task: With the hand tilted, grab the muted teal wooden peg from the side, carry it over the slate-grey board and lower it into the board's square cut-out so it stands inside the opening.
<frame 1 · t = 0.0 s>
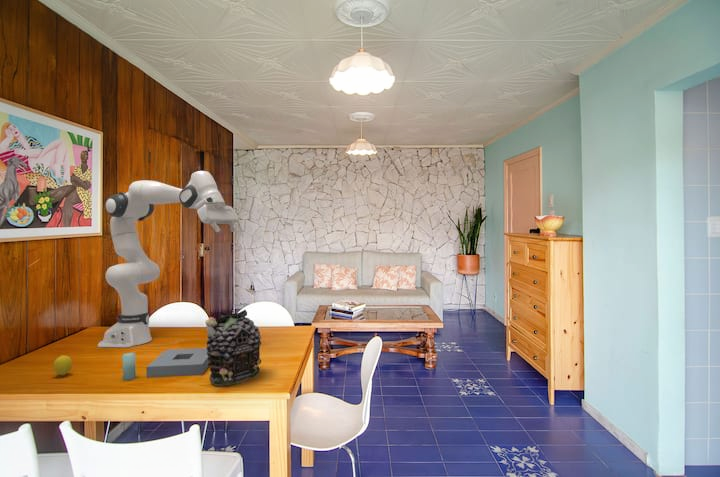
hand: (226, 231, 165), 54 cm above the table, tool tilted 30°, fingers open, 8 cm apart
peg: (129, 378, 142), on the table
decorative house: (235, 378, 142), on the table
lemon: (63, 376, 144), on the table
cutout board: (183, 366, 154), on the table
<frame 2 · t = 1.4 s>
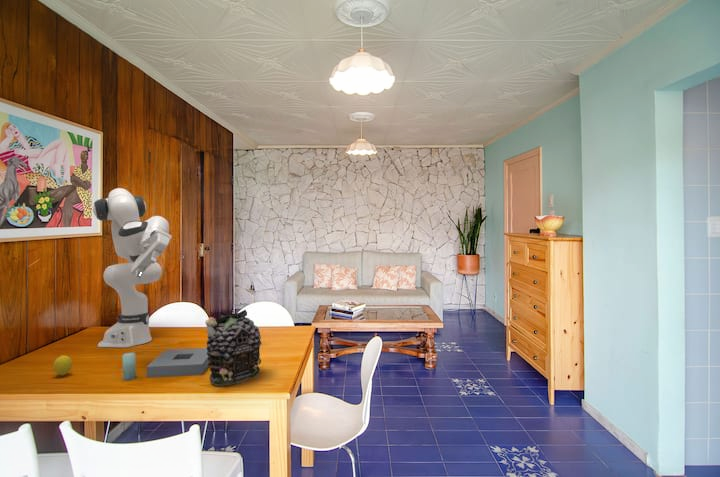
hand: (145, 269, 143), 40 cm above the table, tool tilted 50°, fingers open, 8 cm apart
nothing on the table moved.
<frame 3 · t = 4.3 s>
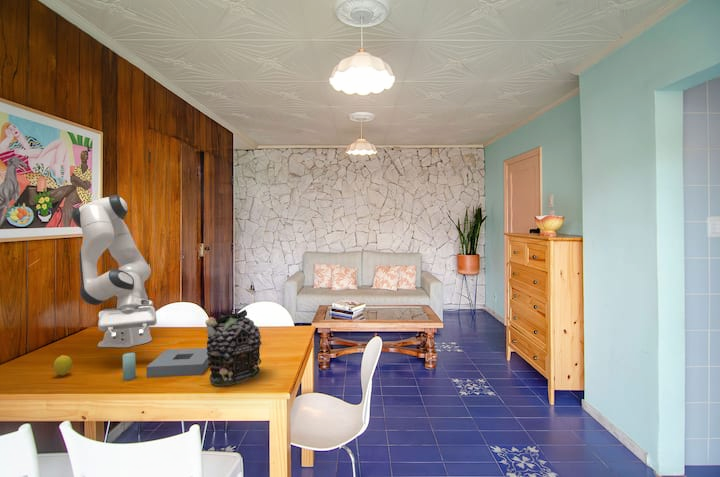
hand: (127, 336, 150), 13 cm above the table, tool tilted 45°, fingers open, 8 cm apart
nothing on the table moved.
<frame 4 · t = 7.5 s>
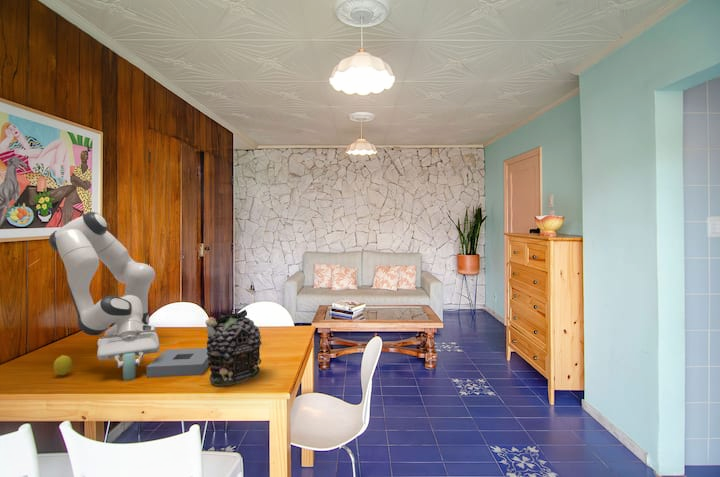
hand: (129, 365, 141), 5 cm above the table, tool tilted 45°, fingers closed on peg, 4 cm apart
peg: (129, 378, 142), on the table, touching gripper
everything else where it was.
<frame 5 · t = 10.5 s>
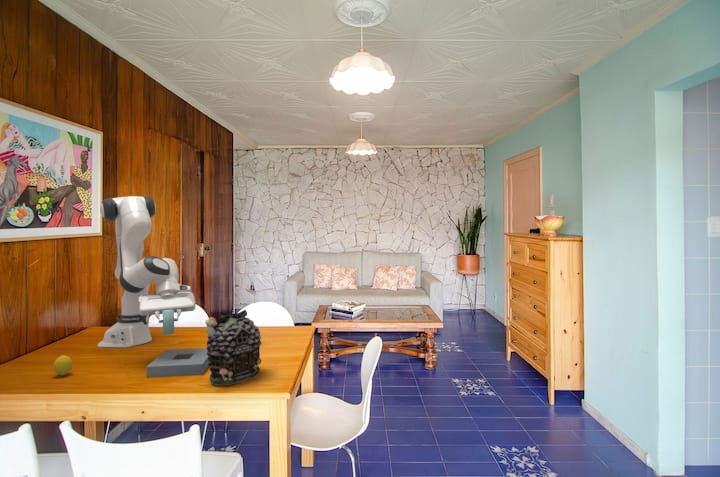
hand: (168, 321, 150), 19 cm above the table, tool tilted 45°, fingers closed on peg, 4 cm apart
peg: (168, 333, 150), point 14 cm above the table, touching gripper
everything else where it was.
when the fingers open (7 cm above the table, at t = 13.6 s): peg drops 2 cm, resting in cutout board.
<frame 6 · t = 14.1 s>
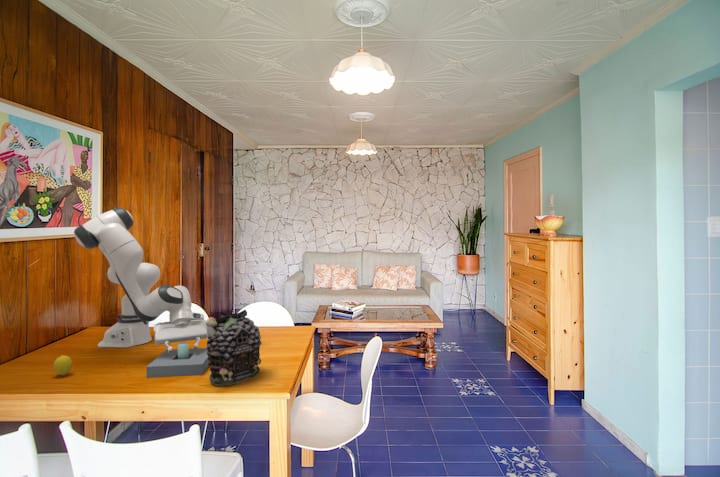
hand: (183, 349, 153), 7 cm above the table, tool tilted 45°, fingers open, 8 cm apart
peg: (183, 366, 154), resting in cutout board
everything else where it was.
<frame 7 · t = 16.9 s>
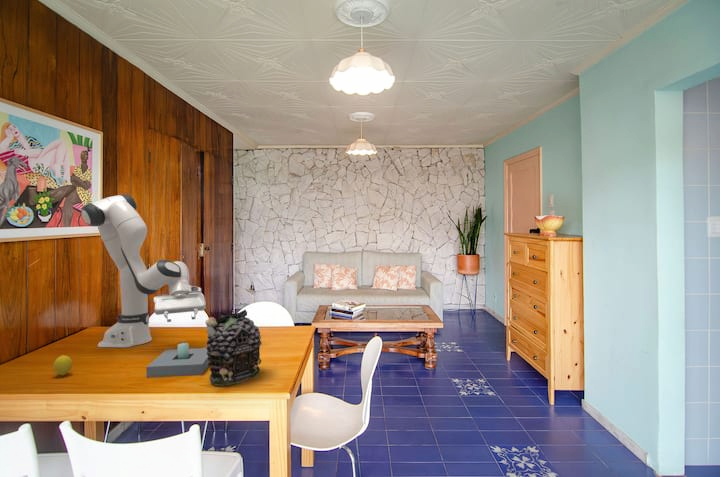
hand: (181, 319, 162), 17 cm above the table, tool tilted 45°, fingers open, 8 cm apart
nothing on the table moved.
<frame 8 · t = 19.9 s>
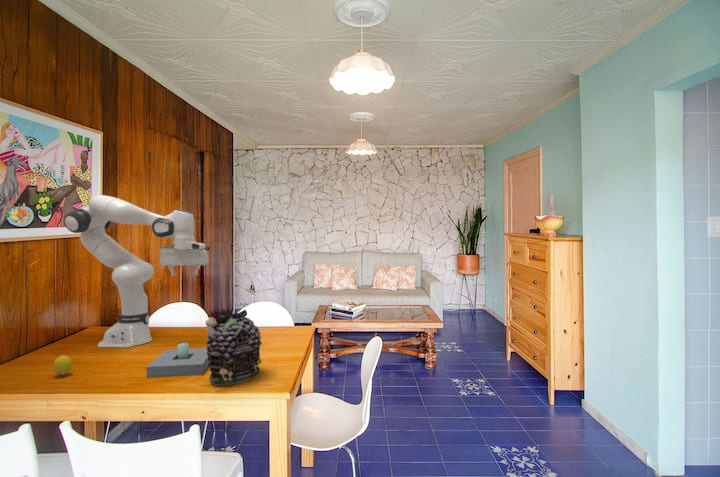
hand: (184, 275, 175), 34 cm above the table, tool pointing down, fingers open, 8 cm apart
nothing on the table moved.
at the end: peg 0.1 cm off-centre on the cutout board, point 0.0 cm above the cutout board's base; peg tilted 0°; the gripper is holding nothing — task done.
